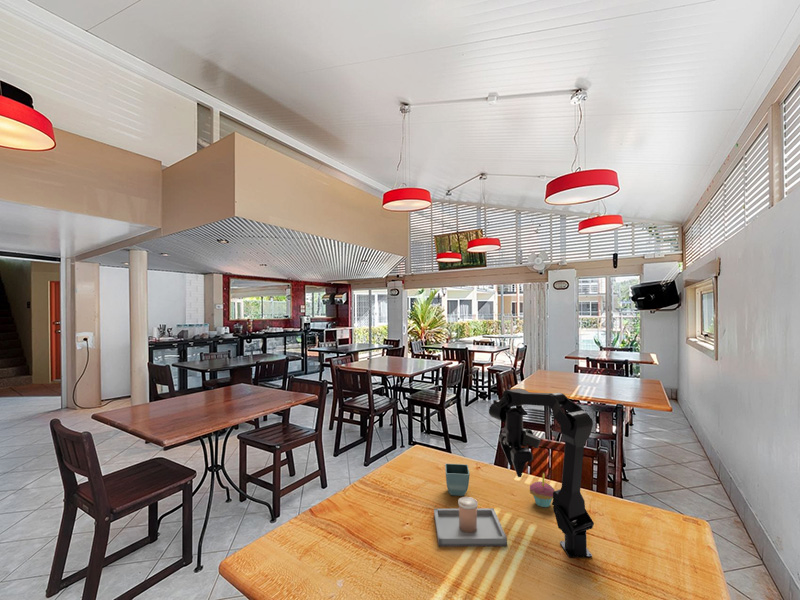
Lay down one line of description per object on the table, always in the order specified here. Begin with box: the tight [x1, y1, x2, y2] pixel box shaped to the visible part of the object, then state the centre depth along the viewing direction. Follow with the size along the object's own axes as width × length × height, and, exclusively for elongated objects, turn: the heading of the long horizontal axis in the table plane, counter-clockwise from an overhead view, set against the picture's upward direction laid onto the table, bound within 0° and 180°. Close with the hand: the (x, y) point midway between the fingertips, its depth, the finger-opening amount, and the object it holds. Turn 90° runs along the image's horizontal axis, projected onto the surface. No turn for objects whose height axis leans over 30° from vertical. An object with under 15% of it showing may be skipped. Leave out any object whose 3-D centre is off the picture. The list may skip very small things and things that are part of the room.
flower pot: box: [444, 463, 471, 497], centre depth 138 cm, size 9×9×9 cm
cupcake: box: [529, 472, 555, 508], centre depth 130 cm, size 9×8×12 cm
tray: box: [433, 507, 508, 547], centre depth 115 cm, size 16×20×2 cm
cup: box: [457, 496, 478, 533], centre depth 115 cm, size 6×6×8 cm
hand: (515, 470), depth 127 cm, fingers open, 9 cm apart
